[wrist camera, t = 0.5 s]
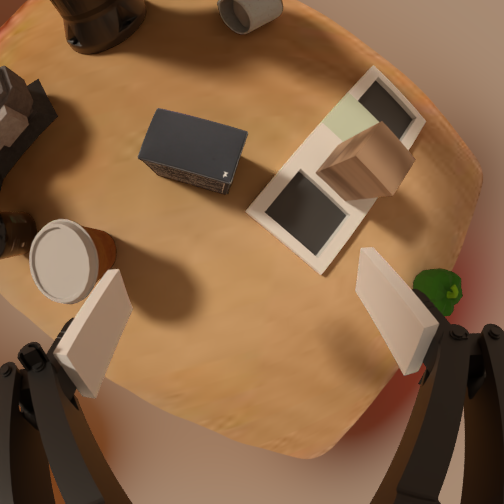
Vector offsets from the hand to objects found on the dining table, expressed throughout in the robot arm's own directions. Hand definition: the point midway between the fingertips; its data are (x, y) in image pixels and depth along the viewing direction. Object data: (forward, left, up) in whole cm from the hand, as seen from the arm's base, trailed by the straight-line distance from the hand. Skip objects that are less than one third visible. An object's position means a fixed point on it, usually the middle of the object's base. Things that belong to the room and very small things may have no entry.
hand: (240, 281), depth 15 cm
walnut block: (-7, +19, -23) cm, 30 cm away
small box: (-12, -1, -25) cm, 27 cm away
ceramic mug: (-38, +10, -25) cm, 46 cm away
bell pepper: (+14, +34, -25) cm, 44 cm away
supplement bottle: (-9, -32, -25) cm, 42 cm away
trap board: (-10, +22, -24) cm, 34 cm away
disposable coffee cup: (-3, -18, -25) cm, 31 cm away
